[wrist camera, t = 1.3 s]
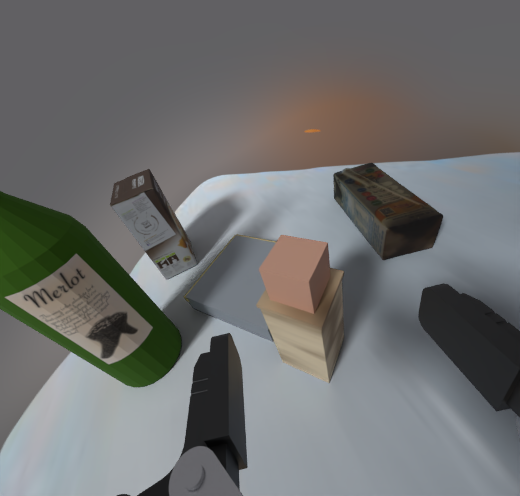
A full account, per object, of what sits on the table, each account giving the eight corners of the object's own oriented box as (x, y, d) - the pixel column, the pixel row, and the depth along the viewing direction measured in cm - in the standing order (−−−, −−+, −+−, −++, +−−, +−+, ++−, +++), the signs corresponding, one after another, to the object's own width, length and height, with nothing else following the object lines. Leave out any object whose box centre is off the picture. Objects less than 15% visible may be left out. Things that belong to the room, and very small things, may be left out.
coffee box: (199, 264, 46) (153, 187, 35) (166, 280, 45) (108, 206, 34) (189, 238, 52) (149, 167, 42) (160, 251, 51) (111, 182, 41)
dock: (240, 245, 47) (235, 233, 45) (313, 261, 39) (311, 248, 37) (191, 308, 39) (183, 296, 37) (273, 342, 31) (267, 330, 29)
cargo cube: (289, 266, 24) (281, 234, 21) (330, 276, 22) (327, 242, 19) (269, 299, 21) (258, 269, 19) (314, 314, 19) (308, 281, 17)
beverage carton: (371, 188, 50) (373, 156, 46) (437, 249, 36) (449, 212, 32) (332, 199, 51) (331, 169, 46) (383, 265, 36) (387, 230, 32)
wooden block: (300, 321, 33) (284, 257, 25) (345, 337, 30) (343, 271, 22) (281, 362, 29) (256, 305, 21) (330, 385, 26) (321, 327, 19)
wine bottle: (141, 404, 30) (-400, 107, 8) (109, 363, 35) (-271, 115, 13) (195, 343, 34) (-68, 42, 13) (160, 314, 39) (-68, 67, 18)
